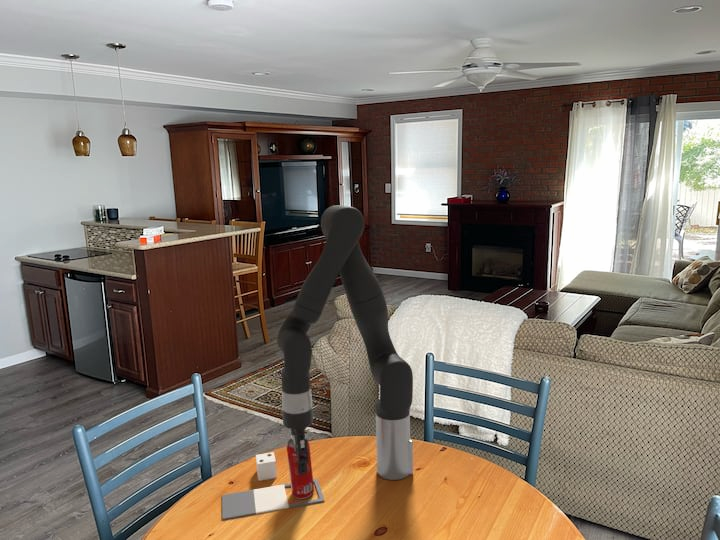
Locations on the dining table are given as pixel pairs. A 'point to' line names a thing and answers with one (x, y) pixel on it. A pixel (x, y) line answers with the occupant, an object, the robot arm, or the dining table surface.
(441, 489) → the dining table surface
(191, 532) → the dining table surface
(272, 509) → the grey frame tray
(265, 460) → the die
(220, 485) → the dining table surface
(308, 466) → the beverage can
